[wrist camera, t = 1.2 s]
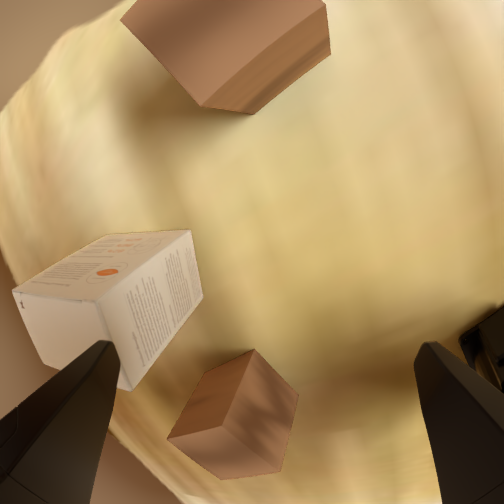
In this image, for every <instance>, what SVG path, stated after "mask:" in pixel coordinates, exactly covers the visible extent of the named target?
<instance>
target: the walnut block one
mask: <svg viewBox="0 0 504 504" xmlns="http://www.w3.org/2000/svg"><path fill="white" fill-rule="evenodd" d="M298 396H299V395H298V394H297V393H296V392H295V391H294V390H293V389H292V388H291V387H290V386H289V385H288V384H287V382H286V381H285V380H284V379H283V378H282V377H281V376H280V375H279V374H278V373H277V372H276V371H275V370H274V369H273V368H272V367H271V366H270V365H269V364H268V363H267V362H266V360H265V359H264V358H263V357H262V356H261V355H260V354H259V353H258V352H257V351H256V350H255V349H253V350H251V351H249V352H247V353H245V354H243V355H241V356H239V357H237V358H235V359H233V360H231V361H229V362H227V363H225V364H223V365H220V366H218V367H216V368H214V369H212V370H210V371H208V372H205V373H204V375H203V377H202V378H201V380H200V382H199V384H198V385H197V387H196V389H195V391H194V392H193V394H192V396H191V398H190V399H189V401H188V403H187V405H186V406H185V408H184V410H183V412H182V413H181V415H180V417H179V418H178V420H177V422H176V424H175V425H174V427H173V429H172V430H171V432H170V434H169V436H168V437H167V440H168V441H169V442H171V443H172V444H173V445H174V446H175V447H177V448H178V449H179V450H181V451H182V452H183V453H184V454H186V455H187V456H188V457H190V458H191V459H192V460H194V461H195V462H196V463H198V464H199V465H200V466H202V467H203V468H204V469H206V470H207V471H209V472H210V473H212V474H213V475H214V476H216V477H217V478H219V479H220V480H227V479H236V478H244V477H251V476H258V475H264V474H270V473H276V472H280V471H281V467H282V463H283V459H284V455H285V452H286V448H287V443H288V439H289V435H290V431H291V427H292V423H293V418H294V414H295V410H296V405H297V400H298Z"/></svg>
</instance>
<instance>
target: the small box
mask: <svg viewBox="0 0 504 504" xmlns="http://www.w3.org/2000/svg"><path fill="white" fill-rule="evenodd" d="M12 293H13V296H14V298H15V301H16V304H17V306H18V309H19V311H20V314H21V316H22V318H23V321H24V323H25V325H26V328H27V330H28V332H29V335H30V337H31V339H32V341H33V343H34V345H35V347H36V349H37V352H38V354H39V356H40V357H41V359H42V361H43V363H44V364H45V365H48V366H50V367H53V368H56V369H59V370H62V369H63V368H64V367H65V366H67V365H68V364H69V363H70V362H72V361H73V360H74V359H75V358H77V357H78V356H79V355H80V354H82V353H83V352H84V351H85V350H87V349H88V348H89V347H90V346H92V345H93V344H94V343H96V342H97V341H98V340H109V341H112V342H113V343H114V345H115V348H116V350H117V353H118V356H119V358H120V362H121V367H120V373H119V378H118V383H117V388H119V389H122V390H126V391H130V392H132V391H133V390H134V389H135V387H136V386H137V385H138V383H139V382H140V381H141V379H142V378H143V377H144V375H145V374H146V373H147V371H148V370H149V369H150V367H151V366H152V365H153V363H154V362H155V361H156V359H157V358H158V357H159V356H160V354H161V353H162V352H163V350H164V349H165V348H166V346H167V345H168V344H169V342H170V341H171V340H172V339H173V337H174V336H175V335H176V333H177V332H178V331H179V329H180V328H181V327H182V325H183V324H184V323H185V322H186V320H187V319H188V318H189V316H190V315H191V314H192V312H193V311H194V310H195V308H196V307H197V306H198V305H199V303H200V302H201V301H202V299H203V293H202V288H201V282H200V277H199V272H198V267H197V261H196V256H195V251H194V245H193V240H192V234H191V230H190V229H186V230H171V231H155V232H139V233H126V234H108V235H105V236H103V237H101V238H99V239H98V240H96V241H94V242H92V243H90V244H88V245H86V246H85V247H83V248H81V249H79V250H77V251H76V252H74V253H72V254H70V255H69V256H67V257H65V258H63V259H62V260H60V261H58V262H57V263H55V264H53V265H52V266H50V267H48V268H47V269H45V270H43V271H42V272H40V273H39V274H37V275H35V276H34V277H32V278H30V279H29V280H27V281H25V282H24V283H22V284H21V285H19V286H18V287H16V288H14V289H13V290H12Z"/></svg>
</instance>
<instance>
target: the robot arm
mask: <svg viewBox="0 0 504 504" xmlns="http://www.w3.org/2000/svg"><path fill="white" fill-rule="evenodd" d="M465 339H467V340H466V341H464V340H465ZM459 344H460V346H461V348H462V350H463V353H464V355H465V357H466V359H467V362H468V364H469V366H470V367H469V366H468V365H467V364H465V363H464V362H463V361H461V360H460V359H459V358H458V357H456V356H455V355H454V354H452V353H451V352H450V351H448V350H447V349H446V348H445V347H443V346H442V345H441V344H439V343H438V342H436V341H428V342H424V343H423V344H422V345H421V348H420V350H419V352H418V354H417V356H416V358H415V360H414V371H415V377H416V382H417V387H418V393H419V399H420V405H421V410H422V414H423V418H424V421H425V425H426V429H427V433H428V437H429V441H430V445H431V449H432V454H433V458H434V463H435V467H436V472H437V477H438V482H439V487H440V493H441V498H442V504H504V307H503V308H501V309H500V310H499V311H497V312H496V313H494V314H493V315H491V316H490V317H489V318H487V319H486V320H484V321H483V322H481V323H480V324H478V325H477V326H475V327H473V328H472V329H470V330H469V331H467V332H466V333H464V334H462V335H461V336H460V338H459ZM120 367H121V362H120V358H119V356H118V353H117V350H116V348H115V345H114V343H113V342H112V341H109V340H98V341H97V342H96V343H94V344H93V345H92V346H90V347H89V348H88V349H87V350H85V351H84V352H83V353H82V354H80V355H79V356H78V357H77V358H75V359H74V360H73V361H72V362H70V363H69V364H68V365H67V366H65V367H64V368H63V369H62V370H60V371H59V372H58V373H57V374H55V375H54V376H53V377H52V378H51V379H49V380H48V381H47V382H46V383H44V384H43V385H42V386H41V387H40V388H38V389H37V390H36V391H35V392H34V393H32V394H31V395H30V396H28V397H27V398H26V399H25V400H24V401H22V402H21V403H20V404H19V405H18V407H15V408H14V409H13V410H11V411H10V412H9V413H8V414H7V415H5V416H4V417H3V418H2V419H0V504H90V499H91V494H92V489H93V485H94V481H95V476H96V472H97V468H98V464H99V460H100V456H101V452H102V448H103V444H104V440H105V437H106V433H107V429H108V426H109V422H110V419H111V415H112V411H113V406H114V400H115V394H116V389H117V383H118V378H119V373H120Z"/></svg>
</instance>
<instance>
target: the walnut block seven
mask: <svg viewBox="0 0 504 504" xmlns="http://www.w3.org/2000/svg"><path fill="white" fill-rule="evenodd" d="M120 21H121V22H122V23H123V24H124V25H125V26H126V27H127V28H128V29H129V30H130V31H131V32H132V33H133V34H134V35H135V36H136V37H137V38H138V39H139V40H140V42H141V43H142V44H143V45H144V46H145V47H146V48H147V49H148V50H149V51H150V52H151V53H152V54H153V55H154V56H155V57H156V58H157V59H158V61H159V62H160V63H161V64H162V65H163V66H164V67H165V68H166V69H167V70H168V71H169V72H170V73H171V75H172V76H173V77H174V78H175V79H176V80H177V81H178V82H179V83H180V84H181V86H182V87H183V88H184V89H185V90H186V91H187V92H188V93H189V94H190V96H191V97H192V98H193V99H194V100H195V101H196V102H197V103H198V105H199V106H201V107H209V108H216V109H223V110H230V111H237V112H243V113H249V114H255V113H256V112H258V111H259V110H260V109H261V108H262V107H264V106H265V105H266V104H267V103H268V102H270V101H271V100H272V99H273V98H275V97H276V96H277V95H278V94H279V93H281V92H282V91H283V90H284V89H286V88H287V87H288V86H289V85H291V84H292V83H293V82H295V81H296V80H297V79H298V78H300V77H301V76H302V75H304V74H305V73H306V72H308V71H309V70H310V69H312V68H313V67H314V66H316V65H317V64H318V63H320V62H321V61H322V60H324V59H325V58H326V57H328V56H329V55H331V49H330V38H329V29H328V20H327V11H326V4H325V3H324V2H322V1H321V0H137V1H136V2H135V4H134V5H133V6H132V7H131V8H130V9H129V10H128V11H127V12H126V13H125V14H124V16H123V17H122V18H121V19H120Z"/></svg>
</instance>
